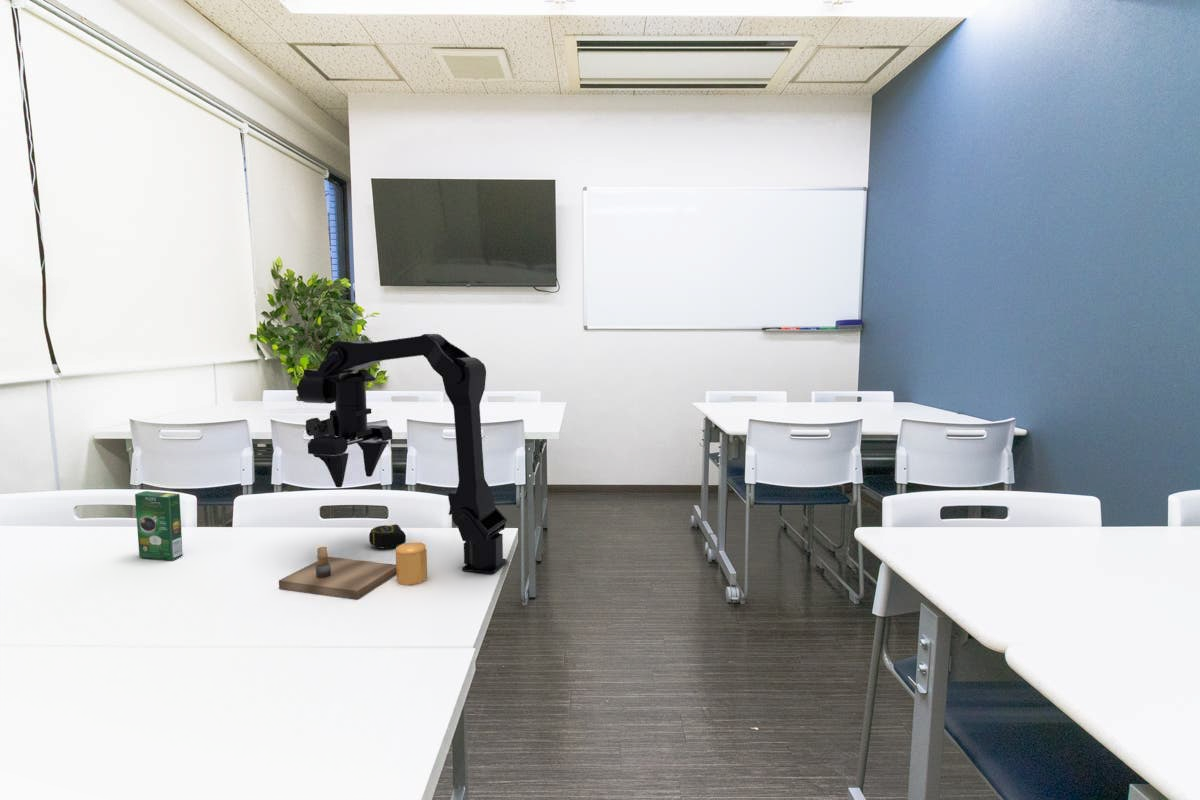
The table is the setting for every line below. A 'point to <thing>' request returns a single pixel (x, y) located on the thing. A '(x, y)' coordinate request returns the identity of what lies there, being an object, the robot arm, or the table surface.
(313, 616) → the table surface
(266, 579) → the table surface
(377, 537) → the tape measure
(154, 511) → the coffee box
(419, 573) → the orange wooden cylinder
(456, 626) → the table surface
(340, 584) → the wooden board with peg
